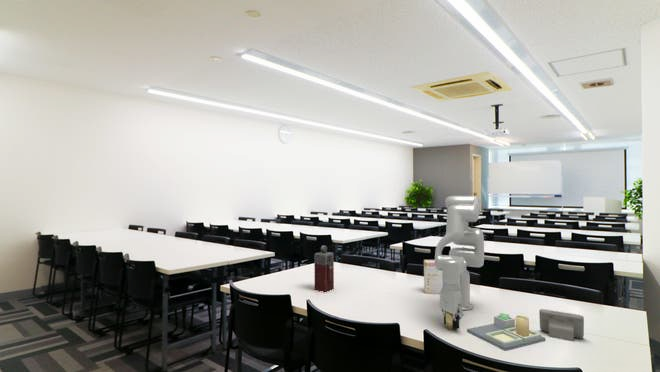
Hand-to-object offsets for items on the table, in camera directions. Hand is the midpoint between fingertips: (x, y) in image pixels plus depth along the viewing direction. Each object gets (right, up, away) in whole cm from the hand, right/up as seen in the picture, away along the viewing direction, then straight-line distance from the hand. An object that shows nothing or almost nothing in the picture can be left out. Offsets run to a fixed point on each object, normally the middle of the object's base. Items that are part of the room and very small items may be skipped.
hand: (451, 325), depth 160 cm
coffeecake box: (+10, -2, +55) cm, 56 cm away
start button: (+23, +1, -2) cm, 24 cm away
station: (+20, -1, -9) cm, 22 cm away
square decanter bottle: (-58, -2, +61) cm, 85 cm away
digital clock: (+44, -1, -9) cm, 45 cm away
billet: (0, -1, 0) cm, 1 cm away
